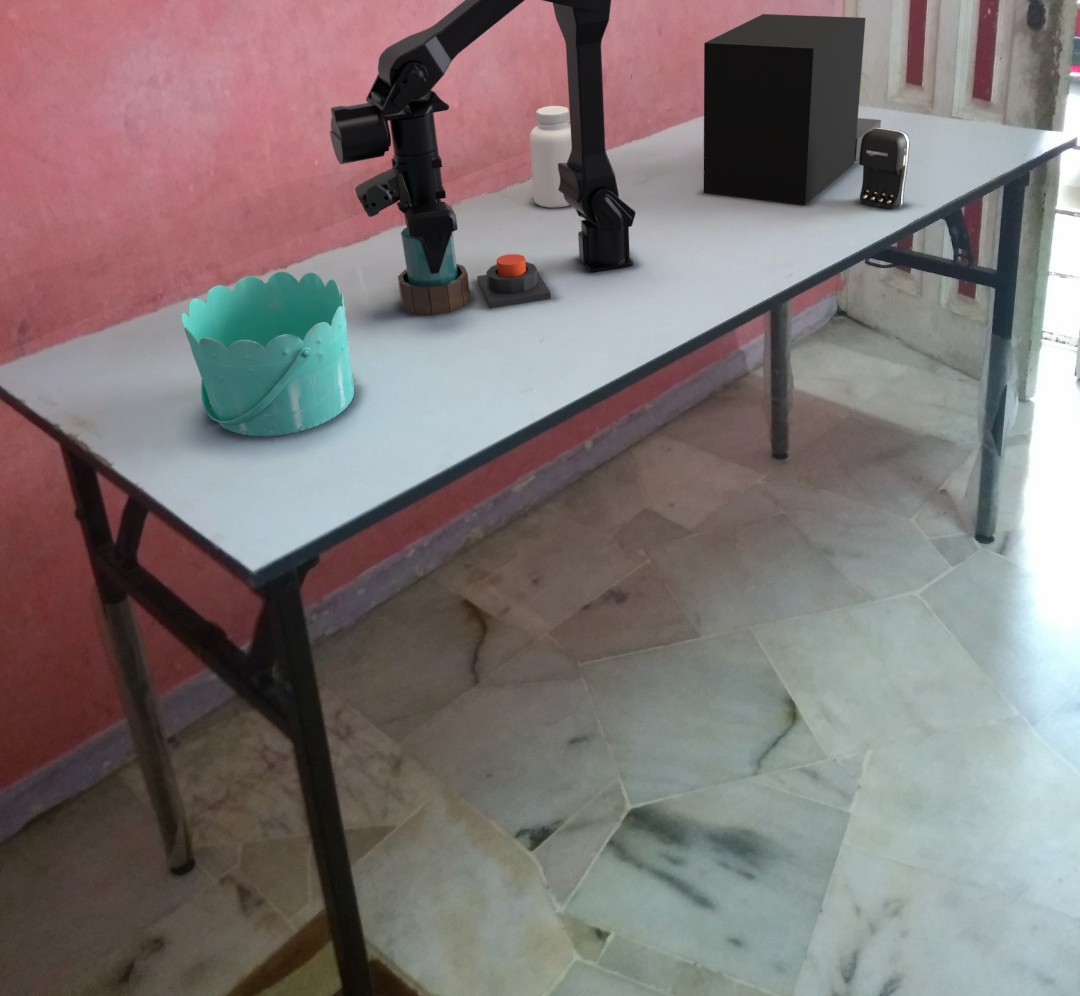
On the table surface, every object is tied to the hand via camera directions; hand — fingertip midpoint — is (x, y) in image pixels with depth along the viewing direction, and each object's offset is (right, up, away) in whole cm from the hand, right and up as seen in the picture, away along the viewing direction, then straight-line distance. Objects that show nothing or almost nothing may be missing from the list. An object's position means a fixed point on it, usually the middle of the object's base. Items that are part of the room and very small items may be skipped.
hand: (431, 263), depth 156 cm
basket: (-16, -21, -20) cm, 33 cm away
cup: (0, -4, +3) cm, 5 cm away
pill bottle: (+18, +18, +36) cm, 44 cm away
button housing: (+11, -3, +4) cm, 12 cm away
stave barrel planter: (0, -5, +3) cm, 6 cm away
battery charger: (+68, +14, +23) cm, 73 cm away
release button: (+11, -1, +3) cm, 11 cm away
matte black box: (+59, +25, +41) cm, 76 cm away
